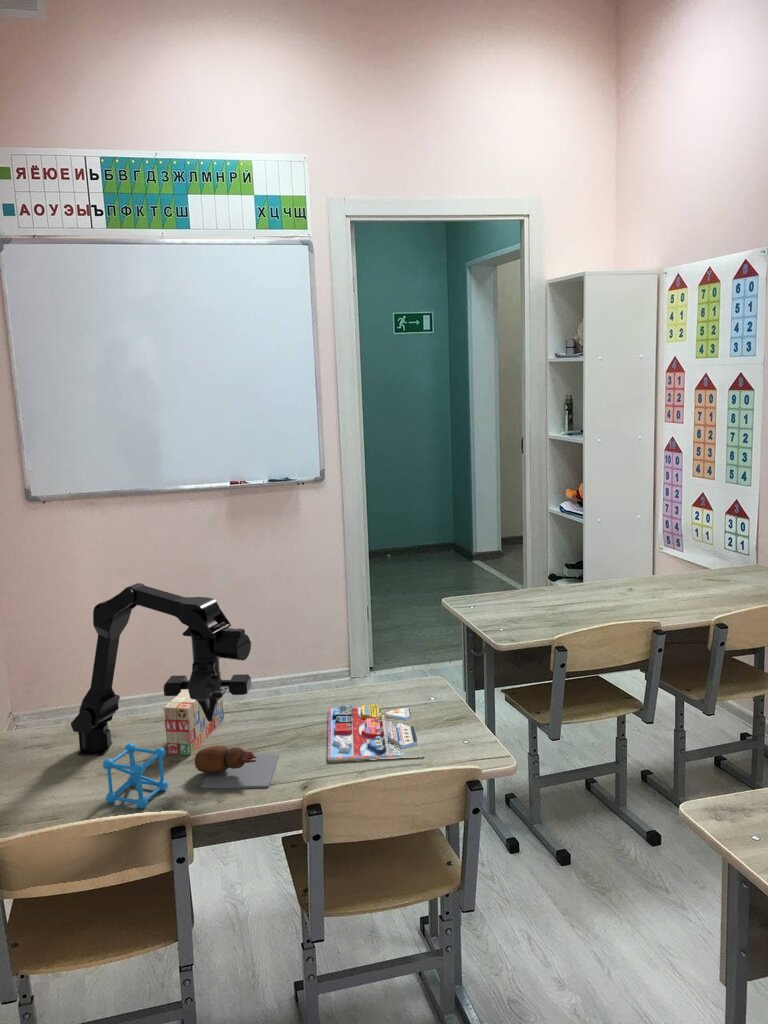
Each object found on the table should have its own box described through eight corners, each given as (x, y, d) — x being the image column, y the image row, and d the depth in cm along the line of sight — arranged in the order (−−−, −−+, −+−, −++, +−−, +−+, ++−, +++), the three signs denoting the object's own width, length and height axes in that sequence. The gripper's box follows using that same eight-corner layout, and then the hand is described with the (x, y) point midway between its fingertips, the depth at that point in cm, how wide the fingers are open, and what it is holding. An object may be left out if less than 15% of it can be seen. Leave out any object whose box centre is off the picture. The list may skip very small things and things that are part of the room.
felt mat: (201, 788, 184) (201, 786, 184) (216, 756, 199) (216, 754, 199) (268, 787, 184) (268, 785, 184) (279, 756, 198) (278, 754, 198)
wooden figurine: (192, 777, 187) (254, 772, 183) (189, 751, 188) (251, 746, 184) (206, 770, 193) (266, 765, 190) (204, 745, 194) (263, 740, 190)
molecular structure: (103, 804, 179) (99, 760, 177) (132, 782, 188) (128, 740, 186) (143, 811, 175) (139, 767, 174) (170, 788, 185) (167, 746, 183)
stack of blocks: (202, 717, 222) (199, 673, 220) (224, 719, 221) (221, 674, 218) (167, 754, 201) (163, 706, 199) (191, 756, 200) (187, 707, 198)
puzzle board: (425, 760, 196) (425, 750, 195) (327, 765, 195) (327, 754, 194) (413, 708, 226) (413, 698, 225) (328, 712, 225) (328, 702, 224)
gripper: (153, 668, 179) (159, 736, 182) (240, 667, 178) (244, 735, 181) (168, 651, 190) (173, 715, 193) (249, 649, 189) (253, 714, 192)
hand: (210, 720), depth 189 cm, fingers closed
